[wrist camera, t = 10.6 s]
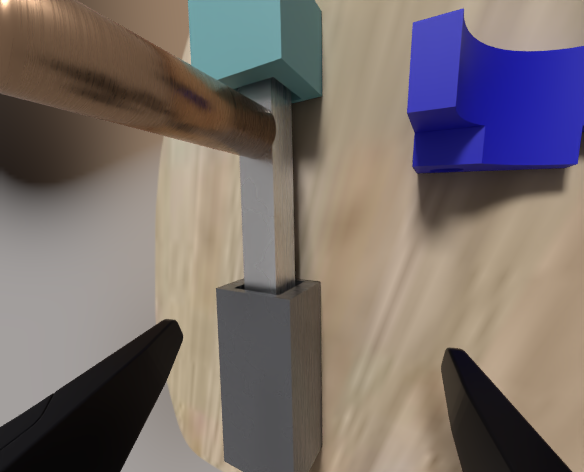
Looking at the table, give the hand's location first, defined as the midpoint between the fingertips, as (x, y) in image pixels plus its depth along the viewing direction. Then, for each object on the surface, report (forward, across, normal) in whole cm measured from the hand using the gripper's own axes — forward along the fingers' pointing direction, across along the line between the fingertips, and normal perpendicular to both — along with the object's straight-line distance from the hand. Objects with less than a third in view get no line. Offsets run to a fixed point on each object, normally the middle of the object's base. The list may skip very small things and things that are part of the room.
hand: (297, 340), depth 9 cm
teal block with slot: (+15, +3, -8) cm, 18 cm away
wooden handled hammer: (+11, +3, -1) cm, 11 cm away
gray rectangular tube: (+6, +3, +10) cm, 12 cm away
